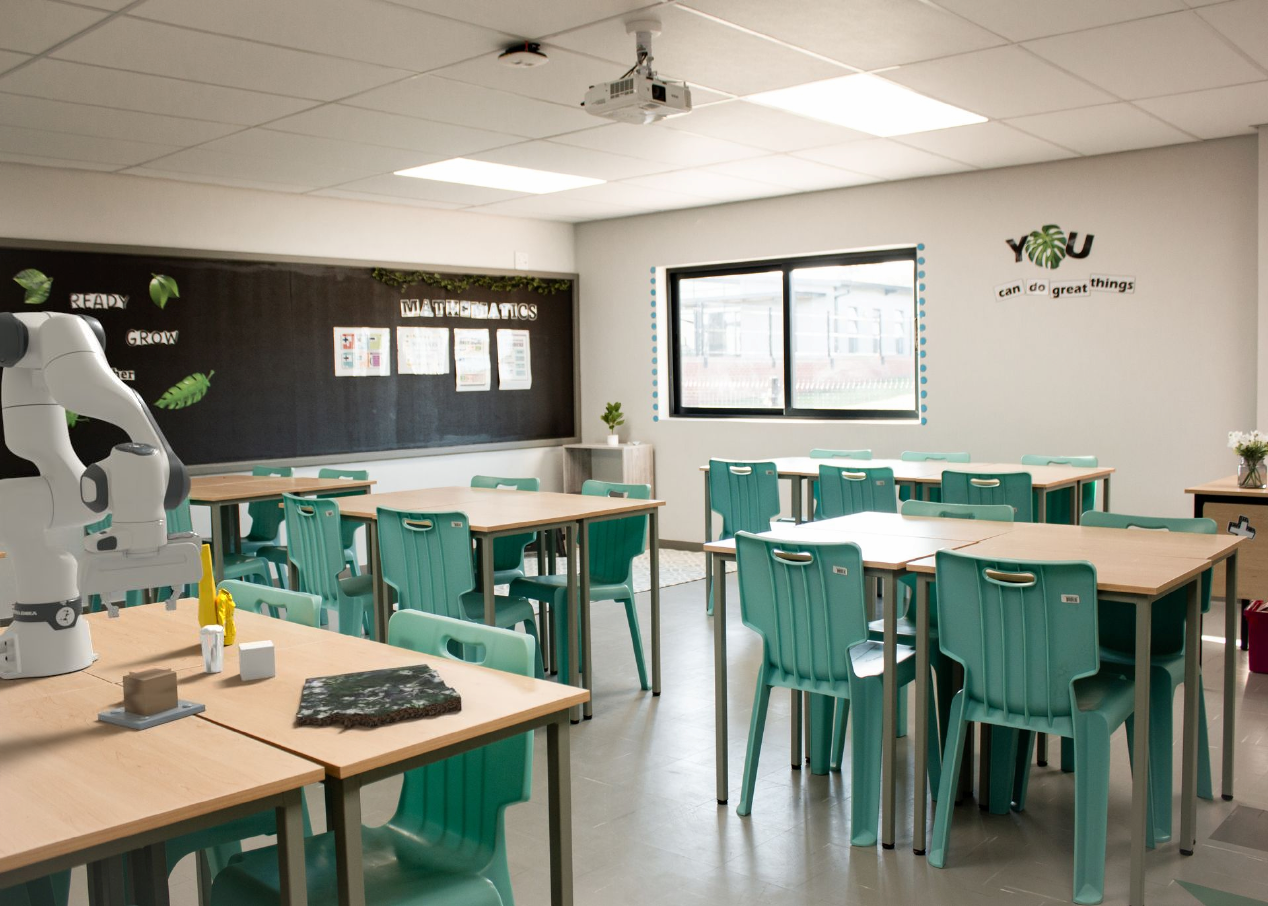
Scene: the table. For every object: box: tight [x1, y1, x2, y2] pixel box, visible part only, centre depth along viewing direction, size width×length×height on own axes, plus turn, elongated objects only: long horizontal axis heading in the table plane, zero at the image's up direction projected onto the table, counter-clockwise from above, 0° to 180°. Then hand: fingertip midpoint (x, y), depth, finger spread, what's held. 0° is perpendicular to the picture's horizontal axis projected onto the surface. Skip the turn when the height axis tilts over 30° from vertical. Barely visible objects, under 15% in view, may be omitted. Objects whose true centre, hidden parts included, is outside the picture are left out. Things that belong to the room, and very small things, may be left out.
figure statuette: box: [197, 543, 237, 646], centre depth 234 cm, size 18×8×22 cm, turn 17°
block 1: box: [128, 664, 172, 675], centre depth 193 cm, size 5×5×5 cm
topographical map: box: [296, 663, 463, 730], centre depth 187 cm, size 26×33×3 cm
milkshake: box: [198, 621, 226, 674], centre depth 210 cm, size 4×5×10 cm
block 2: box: [122, 668, 179, 716], centre depth 181 cm, size 6×6×6 cm
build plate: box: [97, 698, 206, 731], centre depth 181 cm, size 12×12×1 cm
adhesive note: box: [238, 639, 276, 682], centre depth 206 cm, size 6×6×6 cm
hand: (142, 613), depth 189 cm, fingers open, 8 cm apart
